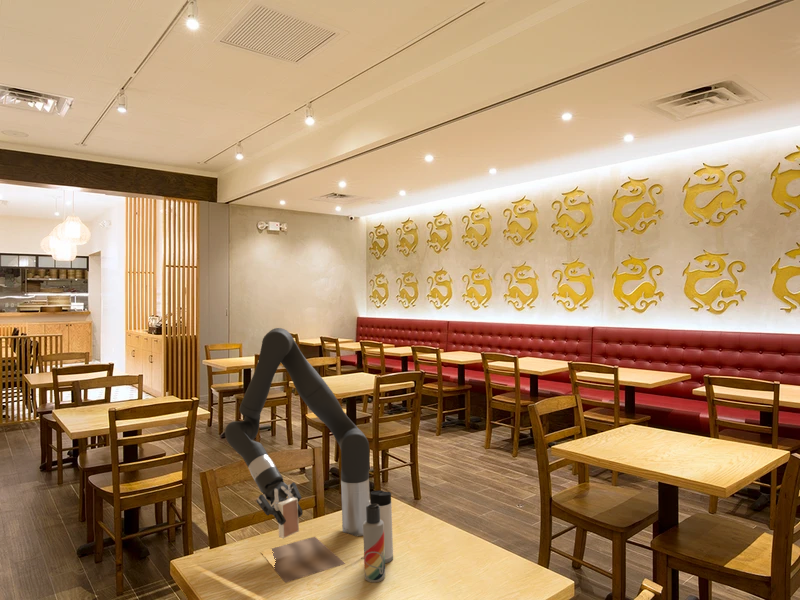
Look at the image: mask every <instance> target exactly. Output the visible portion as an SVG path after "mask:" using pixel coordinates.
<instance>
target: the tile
mask: <svg viewBox="0 0 800 600" xmlns="http://www.w3.org/2000/svg"><path fill="white" fill-rule="evenodd" d="M298 504H299V502H298V498H294V497H292V498H290V499H287V500H285V501H282V502H279V503H278V507H279V510H280V511H281V513H282V515H283V516H284V518H285V520H286V522H285V523H284V524H283V525H280V524H279V523H278V522H277V523H278V538H281V539H286V538H288V537H290V536H293V535H294V534H296V533H299V532H300V526H299V525H300V524H299V523H300V522H299V518H298Z"/></svg>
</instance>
